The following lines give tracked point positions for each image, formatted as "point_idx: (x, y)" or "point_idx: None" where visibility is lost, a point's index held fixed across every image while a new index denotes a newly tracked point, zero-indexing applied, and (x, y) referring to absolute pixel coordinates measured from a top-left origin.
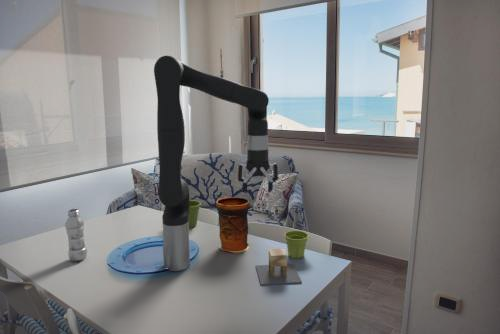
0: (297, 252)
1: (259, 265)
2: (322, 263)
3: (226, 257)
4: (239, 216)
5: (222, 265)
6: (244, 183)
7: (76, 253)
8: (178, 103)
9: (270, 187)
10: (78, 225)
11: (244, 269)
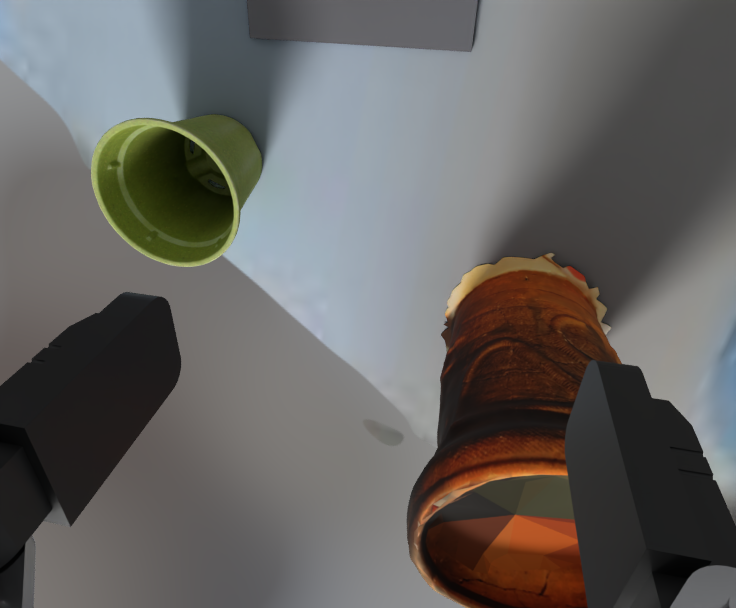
0: (204, 118)
1: (449, 47)
2: (94, 25)
3: (607, 212)
4: (518, 405)
5: (670, 109)
6: (712, 569)
7: None
8: None
9: (73, 341)
10: None
11: (551, 24)
